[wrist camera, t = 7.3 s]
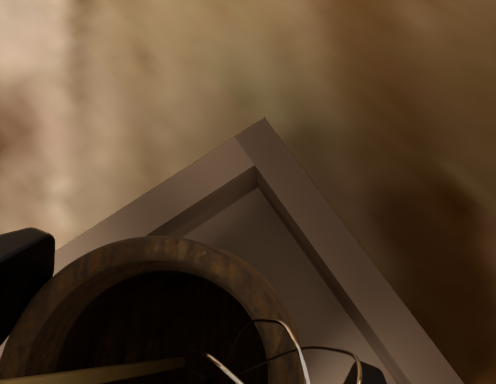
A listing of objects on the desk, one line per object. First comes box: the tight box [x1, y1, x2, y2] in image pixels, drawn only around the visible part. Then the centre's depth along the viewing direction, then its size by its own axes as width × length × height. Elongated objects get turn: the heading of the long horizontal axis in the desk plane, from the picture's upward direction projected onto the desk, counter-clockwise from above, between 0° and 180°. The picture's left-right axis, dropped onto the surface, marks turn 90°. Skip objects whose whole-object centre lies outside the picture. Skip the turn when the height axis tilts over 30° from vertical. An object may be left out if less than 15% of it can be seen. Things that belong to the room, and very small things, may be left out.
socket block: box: [0, 117, 464, 384], centre depth 15 cm, size 11×11×4 cm
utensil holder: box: [0, 236, 362, 384], centre depth 9 cm, size 6×6×12 cm
